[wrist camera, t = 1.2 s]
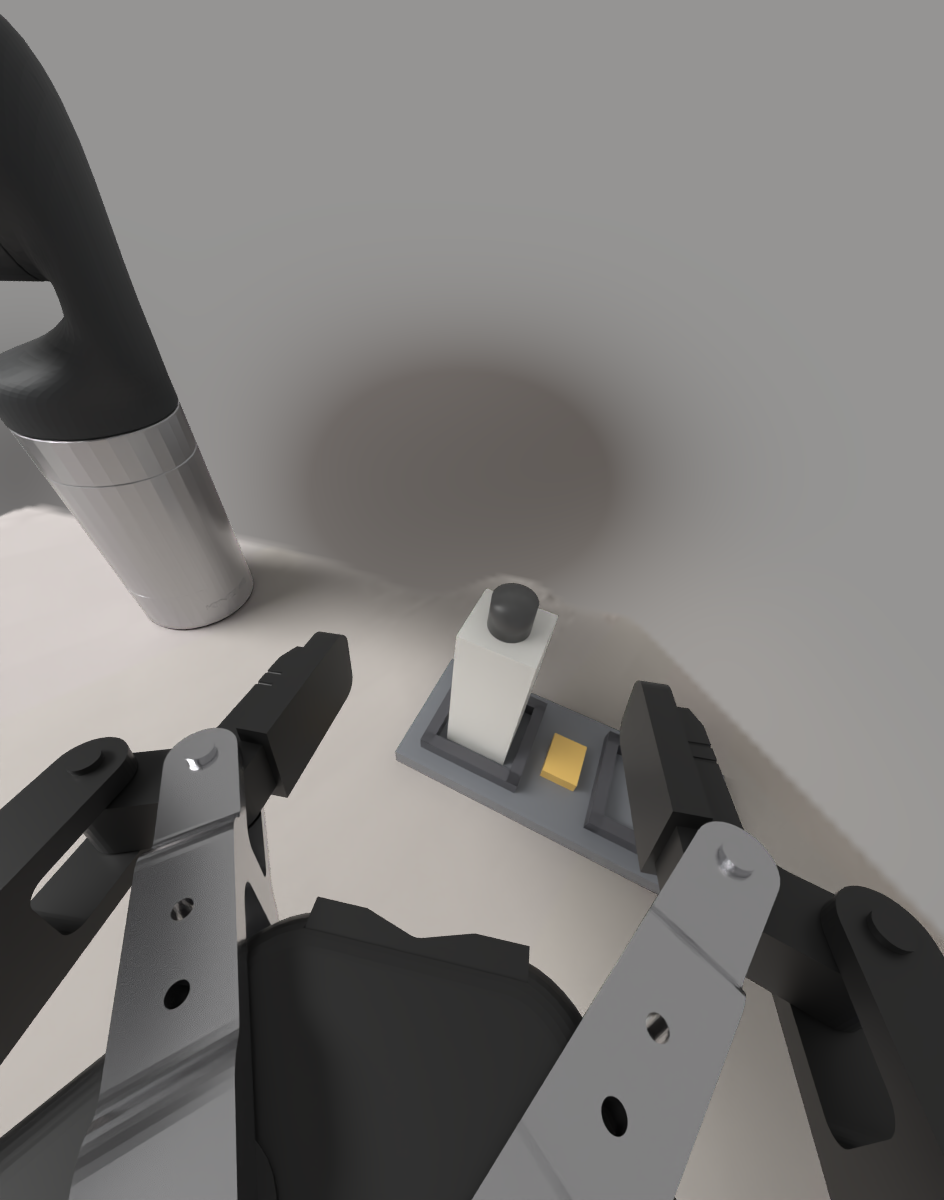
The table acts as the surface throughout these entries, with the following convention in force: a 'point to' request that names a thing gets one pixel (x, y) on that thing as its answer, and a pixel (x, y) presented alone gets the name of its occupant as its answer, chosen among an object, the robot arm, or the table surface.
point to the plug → (497, 668)
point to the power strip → (539, 777)
